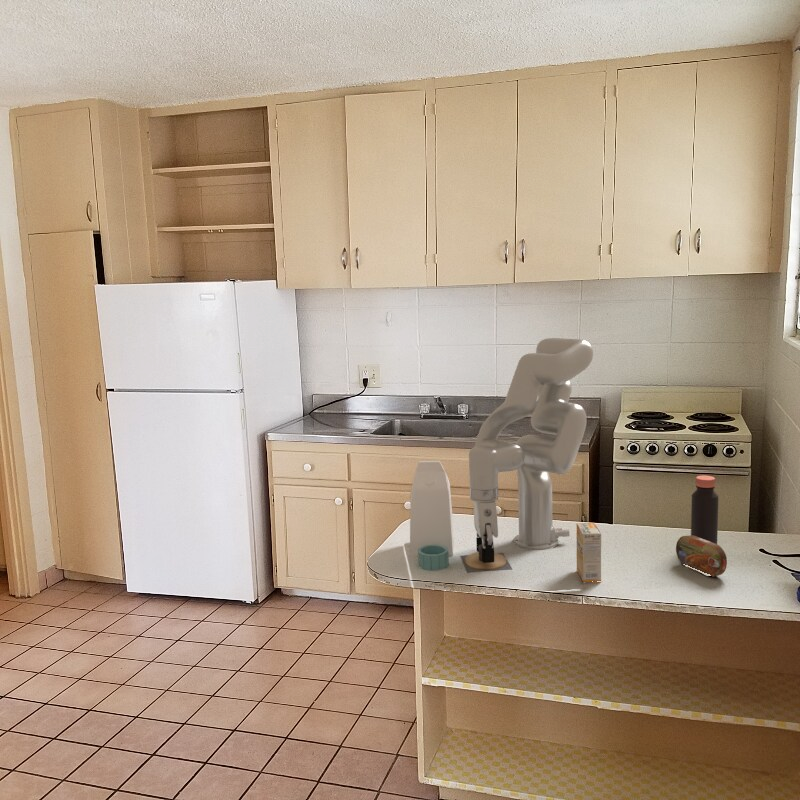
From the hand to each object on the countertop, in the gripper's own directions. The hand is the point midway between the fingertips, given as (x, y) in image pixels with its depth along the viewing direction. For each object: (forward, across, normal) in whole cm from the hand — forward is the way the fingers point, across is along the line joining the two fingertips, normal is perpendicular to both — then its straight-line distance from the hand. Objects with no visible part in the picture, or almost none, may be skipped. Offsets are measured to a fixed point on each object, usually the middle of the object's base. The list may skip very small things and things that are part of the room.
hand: (485, 556), depth 204 cm
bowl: (+2, +1, +14) cm, 14 cm away
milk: (+2, +13, +13) cm, 18 cm away
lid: (+2, 0, 0) cm, 2 cm away
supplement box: (+2, -13, -24) cm, 27 cm away
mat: (+2, 0, 0) cm, 2 cm away
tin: (+2, -14, -53) cm, 55 cm away
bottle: (+2, +1, -61) cm, 61 cm away
